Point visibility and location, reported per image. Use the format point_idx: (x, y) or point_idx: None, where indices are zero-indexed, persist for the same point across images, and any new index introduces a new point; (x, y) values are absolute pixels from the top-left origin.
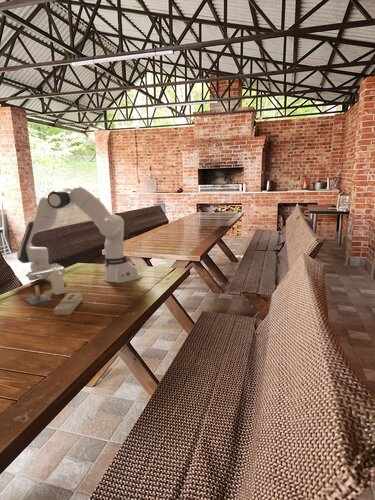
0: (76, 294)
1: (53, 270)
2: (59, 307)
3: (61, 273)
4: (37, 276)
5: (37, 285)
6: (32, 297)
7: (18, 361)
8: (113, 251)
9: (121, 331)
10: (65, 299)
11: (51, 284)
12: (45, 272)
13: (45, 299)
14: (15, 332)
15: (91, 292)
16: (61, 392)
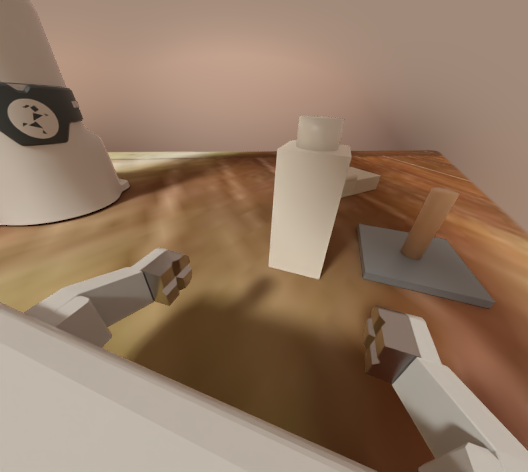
0: None
1: (338, 118)
2: (366, 174)
3: (293, 141)
4: (494, 439)
5: (441, 193)
6: (446, 286)
7: (440, 166)
8: (47, 39)
9: None
10: None
11: (330, 236)
12: (270, 423)
13: (381, 232)
14: (462, 191)
15: (231, 197)
16: (400, 150)
